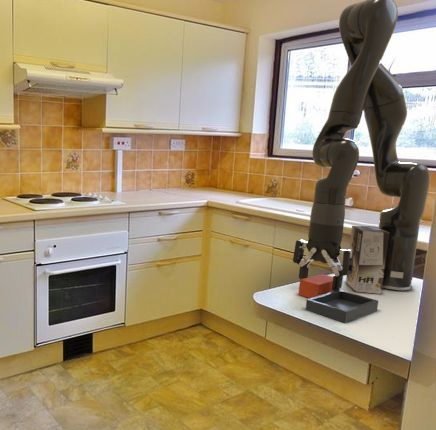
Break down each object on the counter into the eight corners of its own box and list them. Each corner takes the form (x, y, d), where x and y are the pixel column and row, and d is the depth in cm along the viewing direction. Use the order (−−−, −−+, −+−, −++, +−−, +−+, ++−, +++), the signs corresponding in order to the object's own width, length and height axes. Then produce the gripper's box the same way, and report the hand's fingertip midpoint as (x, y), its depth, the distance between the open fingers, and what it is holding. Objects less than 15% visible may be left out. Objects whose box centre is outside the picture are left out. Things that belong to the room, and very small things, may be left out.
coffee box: (382, 294, 116) (390, 232, 114) (355, 291, 117) (362, 230, 115) (370, 283, 125) (377, 226, 123) (344, 281, 126) (351, 224, 124)
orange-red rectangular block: (320, 288, 119) (322, 273, 119) (339, 294, 115) (340, 278, 115) (298, 294, 114) (299, 279, 113) (317, 300, 110) (318, 284, 109)
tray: (338, 298, 111) (339, 289, 111) (377, 310, 104) (378, 300, 104) (305, 309, 103) (306, 299, 103) (345, 322, 96) (346, 312, 96)
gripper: (364, 225, 108) (355, 291, 110) (308, 216, 119) (301, 276, 122) (347, 227, 104) (338, 296, 106) (291, 217, 115) (284, 280, 117)
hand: (318, 285), depth 114 cm, fingers open, 8 cm apart
